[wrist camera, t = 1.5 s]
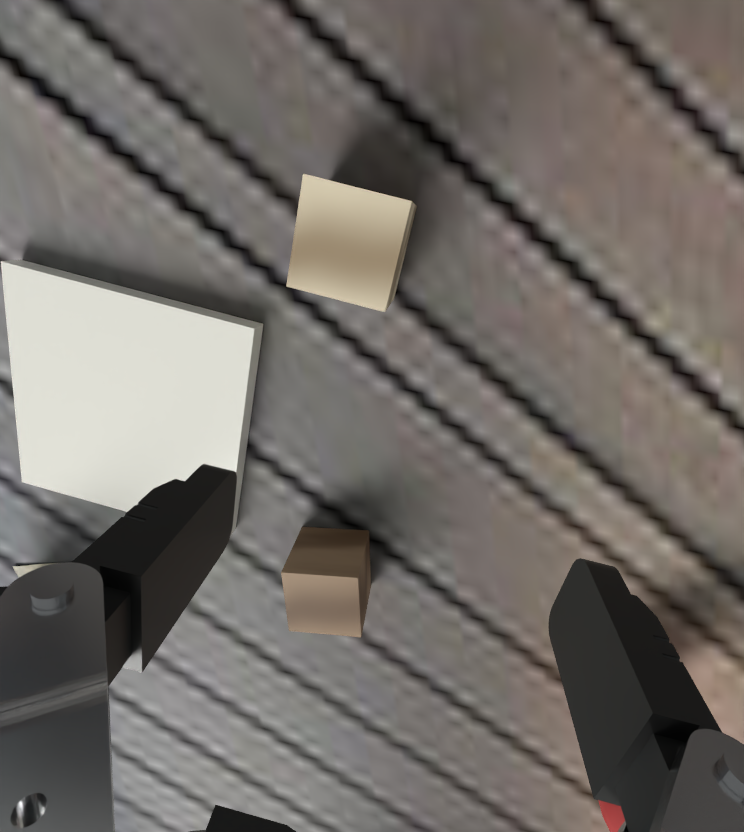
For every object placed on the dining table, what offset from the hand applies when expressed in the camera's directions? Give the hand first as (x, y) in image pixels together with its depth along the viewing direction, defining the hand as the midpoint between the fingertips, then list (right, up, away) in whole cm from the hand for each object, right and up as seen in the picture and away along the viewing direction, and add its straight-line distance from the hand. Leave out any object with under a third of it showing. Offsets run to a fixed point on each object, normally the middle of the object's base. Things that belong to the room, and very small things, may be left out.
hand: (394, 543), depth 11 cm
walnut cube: (-3, -8, +24) cm, 25 cm away
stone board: (-17, +4, +21) cm, 27 cm away
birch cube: (-1, +13, +15) cm, 20 cm away
